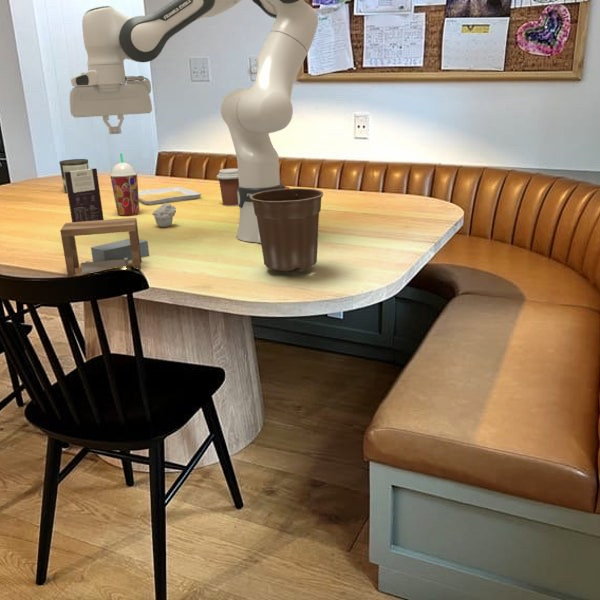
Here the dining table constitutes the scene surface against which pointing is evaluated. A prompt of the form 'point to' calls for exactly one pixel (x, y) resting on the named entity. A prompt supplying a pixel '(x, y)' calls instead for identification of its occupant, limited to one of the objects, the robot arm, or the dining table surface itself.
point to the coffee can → (72, 168)
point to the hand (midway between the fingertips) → (115, 133)
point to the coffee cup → (229, 186)
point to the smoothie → (125, 188)
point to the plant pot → (288, 226)
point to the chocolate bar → (84, 195)
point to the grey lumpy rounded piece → (164, 215)
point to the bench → (99, 228)
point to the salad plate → (187, 192)
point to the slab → (117, 250)
